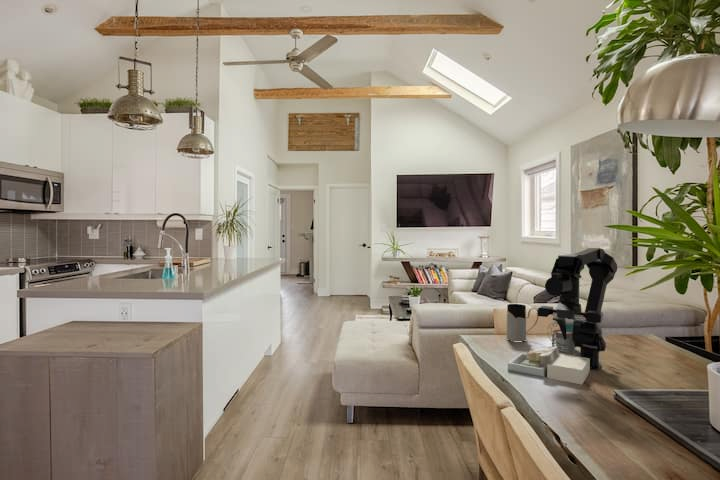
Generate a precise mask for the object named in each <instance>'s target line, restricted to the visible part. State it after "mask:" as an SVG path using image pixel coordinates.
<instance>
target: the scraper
mask: <svg viewBox="0 0 720 480" xmlns="http://www.w3.org/2000/svg"><path fill="white" fill-rule="evenodd" d="M526 354H527V355H528V359H529V361H538V360H540V364H550V363H551V362H552V361H553V360H554V359H555V358H556V357H557V356H558V354H559V350H558V346H556V345H555V346H553V347H552V346H548V347H547V348H546V349H539V350H530V351H528V352H527V353H526Z"/></svg>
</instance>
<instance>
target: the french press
mask: <svg viewBox="0 0 720 480" xmlns="http://www.w3.org/2000/svg"><path fill="white" fill-rule="evenodd" d="M565 319H566V325H573V321H574V320H572V319H567V318H565ZM551 322H552V323H550V324H549V325H548V327H547V329H549V328H550V334H551V338H550V336H549V335H550V334H549V333H547V336H548V339H549V340H550V341H551V347H553V346H558V350H559V354H566V355H572V356H576V347H575V346H574V341H572V333H573V332H572V331H566V337H569V338H571V339H566V340H564V339H563V335H562V332H561V330H559V329H554V330H553V331H552V328H553V327H558V323H557V322H556V321H555V320H553V319H552V320H551ZM552 332H553V333H552ZM566 344H567V346H563V345H566Z"/></svg>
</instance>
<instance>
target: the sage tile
mask: <svg viewBox="0 0 720 480" xmlns="http://www.w3.org/2000/svg"><path fill="white" fill-rule="evenodd" d="M522 365H526V366H532V367H537V368H539V362H535V361H529V360H525V361H523V362H522Z"/></svg>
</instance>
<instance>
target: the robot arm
mask: <svg viewBox="0 0 720 480" xmlns="http://www.w3.org/2000/svg"><path fill="white" fill-rule="evenodd" d="M614 258H615V257H613V256H612V255H610V254H608V253H606V251H605V250H604V249H603V248H601V247H588V248H586V249H585V250H581V251H579V252H575V253H572V254H571V253H561V254H559V255H557V258H556V259H555V261H554V265H553V267H552V270H551V272H550V275H551V277H549V278H548V279H547V280H546V281H545V284H544V287H545V288H544V289H545V290H546V292H547V293H548V294H549V295H551V296H559V298H558V299H559V300H558V303H557V305H556V308H554V306H549V305H541V306H539V307H538V308H537V310H536V315H537V316H539V317H541V318H542V317H543V318H548V317H549V316H550V315H551V316H553V317H552V320H555V321H556V322H557V323H556V324H557V326H559V329H561V332H562V335H563V338H564V340H566V319H565V318H567V319H573V318H574V317H575V320H574V321H573V333H572V341H574V346H575V348H580V351H579V353H580V355H579V357H585V358H590V369H594V370H599V369H600V368H601V366H602V363H600V352H605V351H606V347H607V343H606V341H605V339H604V337H603V334H602V333H603V331H602V328H601V325H600V324H601V323H602V322H603V320H604V313H603V312H602V309H603V304H604V299H605V295H606V291H607V290H606V289H607V285H608V284H610V283H611V281H613V280H614V278H615V274H616V273H617V271H618V264H617V262H616V260H615V259H614ZM585 266H586V267H587V268H588V274H589V276H590V279H591V283H590V287H589V293H588V296H587V302H586V305H585V310H584V312H583V311H582V304H581V303H580V279H581V278H582V275H581V272H582V271H583V270H584V269H585ZM537 316H536V317H537Z"/></svg>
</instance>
